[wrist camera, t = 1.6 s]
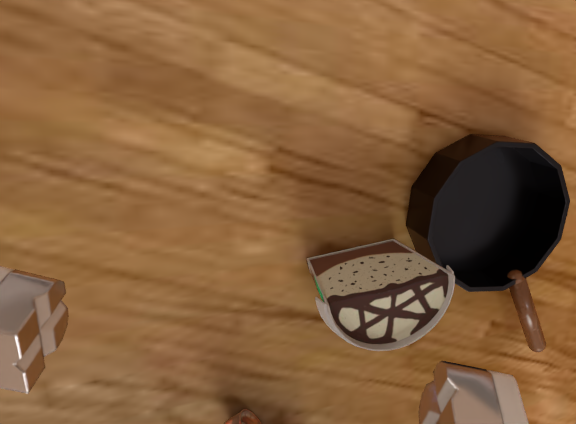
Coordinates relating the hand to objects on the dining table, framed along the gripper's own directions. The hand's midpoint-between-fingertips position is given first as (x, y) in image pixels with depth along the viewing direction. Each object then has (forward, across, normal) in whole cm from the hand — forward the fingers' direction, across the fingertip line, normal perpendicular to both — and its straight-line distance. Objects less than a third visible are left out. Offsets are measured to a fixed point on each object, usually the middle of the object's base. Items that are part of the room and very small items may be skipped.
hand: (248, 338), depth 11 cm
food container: (+33, -8, +26) cm, 43 cm away
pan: (+39, -22, +23) cm, 50 cm away
